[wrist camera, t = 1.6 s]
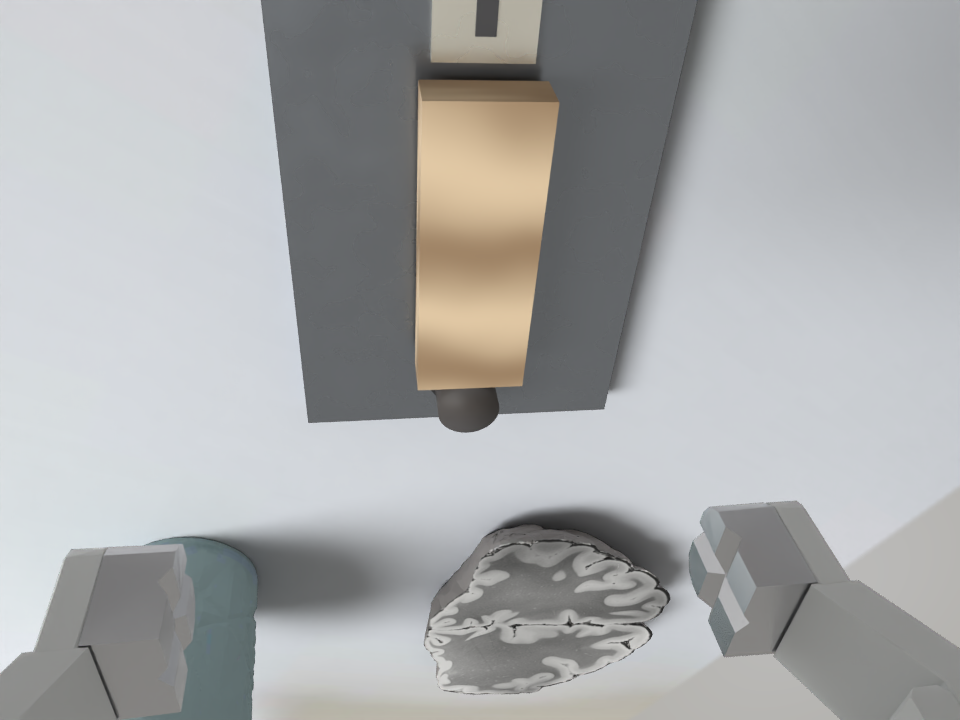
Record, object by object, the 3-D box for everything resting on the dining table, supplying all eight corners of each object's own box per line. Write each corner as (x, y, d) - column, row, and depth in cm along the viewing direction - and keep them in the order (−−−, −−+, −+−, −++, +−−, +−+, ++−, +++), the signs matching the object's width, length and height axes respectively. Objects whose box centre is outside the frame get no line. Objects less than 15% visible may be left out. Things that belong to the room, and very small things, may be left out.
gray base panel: (237, -257, 24) (231, -253, 23) (730, -223, 26) (752, -217, 25) (309, 403, 42) (308, 428, 41) (597, 390, 44) (605, 414, 43)
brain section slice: (612, 655, 65) (621, 689, 63) (408, 661, 62) (411, 698, 60) (692, 503, 53) (707, 540, 51) (444, 501, 50) (448, 539, 47)
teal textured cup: (271, 615, 55) (256, 799, 46) (117, 624, 53) (71, 816, 44) (260, 524, 48) (241, 717, 39) (84, 531, 47) (22, 734, 38)
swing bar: (510, 402, 41) (516, 430, 40) (414, 406, 40) (417, 434, 39) (548, 81, 30) (559, 102, 29) (418, 79, 29) (422, 100, 28)
